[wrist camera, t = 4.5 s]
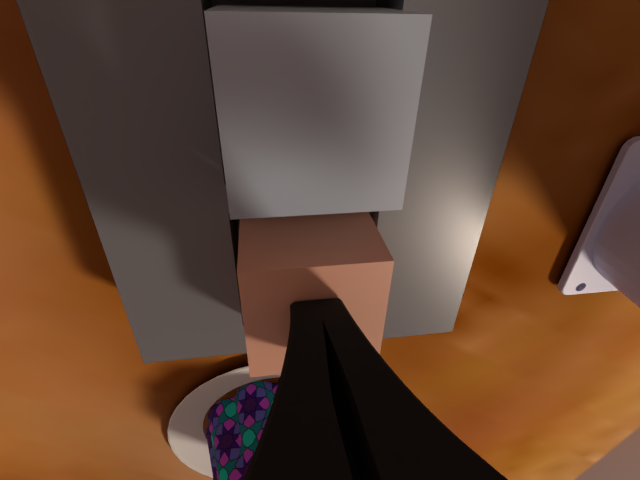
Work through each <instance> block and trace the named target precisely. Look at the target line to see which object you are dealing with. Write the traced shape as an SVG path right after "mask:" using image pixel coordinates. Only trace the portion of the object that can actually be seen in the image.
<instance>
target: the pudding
mask: <svg viewBox="0 0 640 480" xmlns="http://www.w3.org/2000/svg"><path fill="white" fill-rule="evenodd" d="M280 375H281V374H277V375H268V376H259V377H250V372H249V366H247V367H243V368H239V369H235V370H232V371H230V372H227V373H225V374H222V375H220V376H217V377H215V378H213V379H211V380H210V381H208V382H206V383H204V384H202V385H200V386H199V387H198V388H196V389H195V390H194V391H192V392H191V393H190V394H189V395H187V396H186V397H185V398H184V399H183V400H182V402H181V403H180V404H179V405H178V406H177V407H176V409H175V411H174V412H173V414H172V416H171V418H170V421H169V425H168V430H167V433H168V442H169V444H170V447H171V449H172V451H173V453H174V454H175V455H176V456H177V457H178V459H179V460H180V461H181V462H183V463H184V464H185V465H187V466H188V467H189V468H191V469H193V470H195V471H197V472H199V473H201V474H203V475H206V476H209V477H212V478H213V480H243V479H244V477H245V474H246V472H247V470H248V467H249V465H250V462H251V460H252V457H253V455H254V452H255V450H256V447H257V445H258V442H259V440H260V437H261V434H262V432H263V429H264V426H265V423H266V421H267V418H268V415H269V412H270V409H271V406H272V403H273V399H274V396H275V392H276V389H277V385H278V384H275V383H271V382H267V381H259V382H254V381H258V380H262V379H268V378H276V377H280ZM250 382H253V383H250ZM247 383H249V384H247ZM245 384H247V385H245ZM242 385H245V386H243V387H241V388H239V389H238V391H237V393H236V394H235V396H234V398H229V399H225V400H221V401H219V402H217V403H216V404H215V405H214V406H212V405H213V404H214V403H215V402H216V401H217V400H218V399H219V398H220V397H222V396H223V395H225V394H226V393H228V392H229V391H231V390H233V389H235V388H237V387H239V386H242ZM211 406H212V407H211ZM210 407H211V409H210V412H209V414H208V418H209V425H210V427H209V428H208V429H207V430H206V435H207V439H206V438H205V435H204V432H203V421H204V418H205V415H206V413H207V412H208V410H209V408H210Z"/></svg>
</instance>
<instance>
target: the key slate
mask: <svg viewBox="0 0 640 480" xmlns="http://www.w3.org/2000/svg"><path fill="white" fill-rule="evenodd" d="M204 15H205V23H206V31H207V39H208V47H209V55H210V63H211V71H212V79H213V87H214V95H215V103H216V111H217V118H218V126H219V134H220V142H221V150H222V158H223V166H224V174H225V182H226V190H227V198H228V206H229V214H230V220H232V219H250V218H267V217H285V216H302V215H320V214H338V213H355V212H373V211H391V210H402V208H403V202H404V195H405V189H406V182H407V176H408V169H409V163H410V156H411V150H412V143H413V137H414V130H415V124H416V118H417V111H418V105H419V98H420V92H421V85H422V79H423V72H424V66H425V59H426V53H427V46H428V40H429V34H430V27H431V21H432V14H427V13H419V12H412V11H405V10H397V9H390V8H383V7H326V6H267V5H216V6H214V7H212V8H209V9H207V10H205V11H204Z"/></svg>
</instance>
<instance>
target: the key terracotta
mask: <svg viewBox="0 0 640 480" xmlns="http://www.w3.org/2000/svg"><path fill="white" fill-rule="evenodd" d="M393 266H394V259H393V257H392V256H391V254H390V252H389V250H388V248H387V246H386V244H385V242H384V240H383V238H382V237H381V235H380V233H379V231H378V229H377V227H376V225H375V223H374V221H373V219H372V217H371V216H370V214H369V212H355V213H338V214H320V215H302V216H285V217H267V218H250V219H240V224H239V243H238V262H237V277H238V285H239V293H240V301H241V309H242V317H243V325H244V332H245V340H246V348H247V356H248V364H249V372H250V377H259V376H268V375H277V374H281V371H282V367H283V363H284V358H285V353H286V349H287V344H288V338H289V331H290V305H291V304H292V303H293V302H296V301H307V300H318V299H330V298H339V299H341V300H342V301H343V303H344V305H345V307H346V308H347V310H348V311H349V313H350V314H351V316H352V318H353V319H354V321H355V322H356V324H357V325H358V326H359V328H360V329H361V331H362V332H363V333H364V335H365V336H366V338H367V339H368V340H369V342H370V343H371V344H372V346H373V347H374V348H375V349H376V351H377V352H378V353H379V354H380V350H381V344H382V337H383V331H384V324H385V318H386V311H387V305H388V298H389V292H390V286H391V279H392V273H393Z"/></svg>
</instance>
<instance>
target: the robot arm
mask: <svg viewBox="0 0 640 480" xmlns="http://www.w3.org/2000/svg"><path fill="white" fill-rule="evenodd" d="M557 288H558V290H559V291H560V292H561V293H562V294H564V295H573V294H584V293H594V292H605V291H616V290H619V291H620V292H621V293H623V294H624V295H625V296H626V297H627V298H629V299H630V300H631V301H632V302H634V303H635V304H636V305H637V306H638V307H640V136H636V137H633V138H631V139H629V140H627V141H626V142H625V143H624V144H623V146H622V147H621V149H620V151H619V153H618V156H617V158H616V160H615V162H614V164H613V166H612V169H611V171H610V173H609V175H608V177H607V179H606V182H605V184H604V186H603V188H602V190H601V192H600V195H599V197H598V199H597V201H596V203H595V205H594V207H593V210H592V212H591V214H590V216H589V218H588V220H587V223H586V225H585V227H584V229H583V231H582V233H581V236H580V238H579V240H578V242H577V244H576V246H575V248H574V251H573V253H572V255H571V257H570V259H569V261H568V264H567V266H566V268H565V270H564V272H563V274H562V277H561V279H560V281H559V283H558V286H557ZM243 480H508V479H506V478H505V477H504V476H503V475H501V474H500V473H499V472H498V471H497V470H495V469H494V468H493V467H492V466H491V465H489V464H488V463H487V462H486V461H485V460H484V459H482V458H481V457H480V456H479V455H478V454H477V453H475V452H474V451H473V450H472V449H471V448H469V447H468V446H467V445H466V444H465V443H464V442H462V441H461V440H460V439H459V438H458V437H457V436H456V435H455V434H453V433H452V432H451V431H450V430H449V429H448V428H447V427H446V426H445V425H444V424H443V423H442V422H441V421H440V420H439V419H438V418H436V417H435V416H434V415H433V414H432V413H431V412H430V411H429V410H428V409H427V408H426V407H425V406H424V405H423V404H422V403H421V401H420V400H419V399H418V398H417V397H416V396H415V395H414V394H413V393H412V392H411V391H410V390H409V389H408V388H407V386H406V385H405V384H404V383H403V382H402V381H401V380H400V379H399V377H398V376H397V375H396V374H395V373H394V372H393V370H392V369H391V368H390V367H389V366H388V364H387V363H386V362H385V361H384V360H383V358H382V357H381V356H380V354H379V353H378V352H377V351H376V349H375V348H374V347H373V346H372V344H371V343H370V342H369V340H368V339H367V338H366V336H365V335H364V333H363V332H362V331H361V329H360V328H359V326H358V325H357V324H356V322H355V321H354V319H353V318H352V316H351V314H350V313H349V311H348V310H347V308H346V307H345V305H344V303H343V301H342V300H341V299H339V298H330V299H318V300H307V301H296V302H293V303H292V304H291V305H290V331H289V338H288V344H287V349H286V353H285V358H284V363H283V367H282V371H281V375H280V378H279V382H278V385H277V389H276V392H275V396H274V399H273V403H272V406H271V409H270V412H269V415H268V418H267V421H266V423H265V426H264V429H263V432H262V434H261V437H260V440H259V442H258V445H257V447H256V450H255V452H254V455H253V457H252V460H251V462H250V465H249V467H248V470H247V472H246V474H245V477H244V479H243Z"/></svg>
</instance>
